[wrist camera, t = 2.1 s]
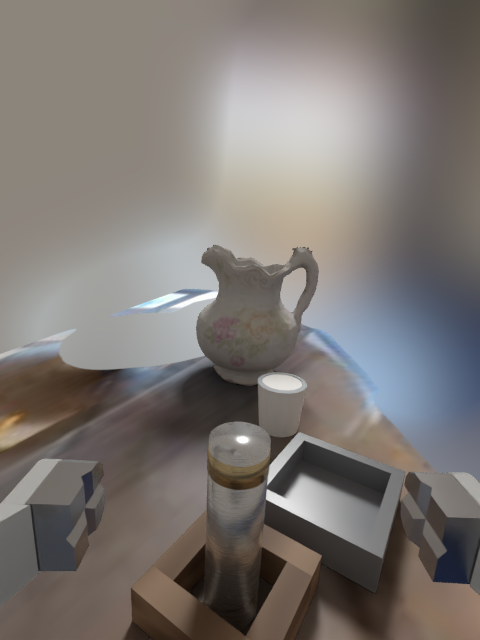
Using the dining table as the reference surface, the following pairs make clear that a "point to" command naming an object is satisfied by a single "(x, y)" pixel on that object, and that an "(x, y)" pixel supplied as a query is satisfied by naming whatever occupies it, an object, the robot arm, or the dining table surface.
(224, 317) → the ceramic pitcher
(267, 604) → the socket block
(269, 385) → the shot glass
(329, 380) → the dining table surface
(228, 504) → the steel pin
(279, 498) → the tray
